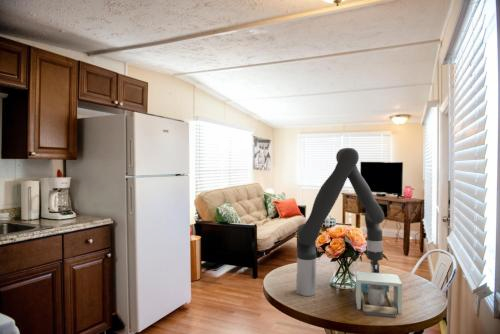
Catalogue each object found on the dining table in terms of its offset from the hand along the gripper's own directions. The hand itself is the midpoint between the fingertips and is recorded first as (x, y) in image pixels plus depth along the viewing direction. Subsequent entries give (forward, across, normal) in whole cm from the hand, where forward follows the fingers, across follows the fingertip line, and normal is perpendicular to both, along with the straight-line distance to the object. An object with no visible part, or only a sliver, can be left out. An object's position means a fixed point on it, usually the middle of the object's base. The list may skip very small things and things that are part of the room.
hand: (374, 282), depth 166 cm
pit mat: (+5, +25, 0) cm, 25 cm away
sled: (+5, +11, 0) cm, 12 cm away
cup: (+6, +15, 0) cm, 16 cm away
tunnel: (+5, +15, 0) cm, 16 cm away
